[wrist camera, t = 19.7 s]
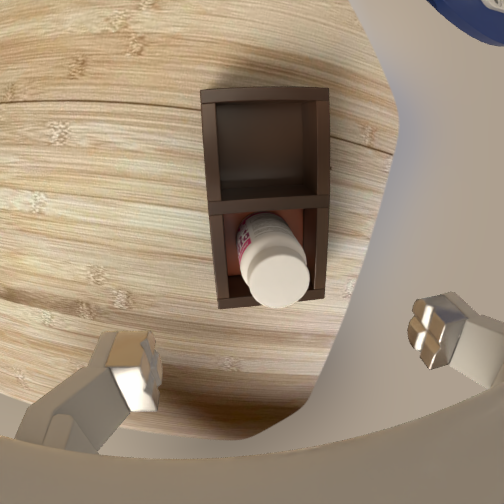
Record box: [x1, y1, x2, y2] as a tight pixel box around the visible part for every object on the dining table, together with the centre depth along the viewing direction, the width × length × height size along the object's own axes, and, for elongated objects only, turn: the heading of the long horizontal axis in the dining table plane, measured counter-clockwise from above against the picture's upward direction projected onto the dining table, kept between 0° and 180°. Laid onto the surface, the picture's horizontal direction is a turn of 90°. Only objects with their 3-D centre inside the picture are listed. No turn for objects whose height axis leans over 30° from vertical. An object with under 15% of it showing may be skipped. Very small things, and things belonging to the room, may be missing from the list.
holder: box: [200, 87, 330, 309], centre depth 25 cm, size 17×9×5 cm, turn 2°
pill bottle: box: [236, 211, 310, 308], centre depth 24 cm, size 5×5×8 cm
